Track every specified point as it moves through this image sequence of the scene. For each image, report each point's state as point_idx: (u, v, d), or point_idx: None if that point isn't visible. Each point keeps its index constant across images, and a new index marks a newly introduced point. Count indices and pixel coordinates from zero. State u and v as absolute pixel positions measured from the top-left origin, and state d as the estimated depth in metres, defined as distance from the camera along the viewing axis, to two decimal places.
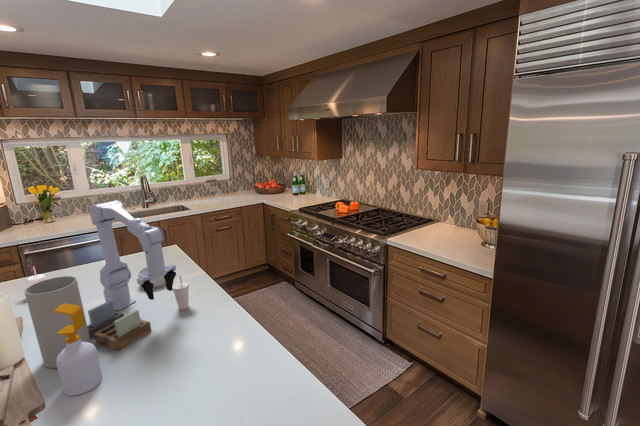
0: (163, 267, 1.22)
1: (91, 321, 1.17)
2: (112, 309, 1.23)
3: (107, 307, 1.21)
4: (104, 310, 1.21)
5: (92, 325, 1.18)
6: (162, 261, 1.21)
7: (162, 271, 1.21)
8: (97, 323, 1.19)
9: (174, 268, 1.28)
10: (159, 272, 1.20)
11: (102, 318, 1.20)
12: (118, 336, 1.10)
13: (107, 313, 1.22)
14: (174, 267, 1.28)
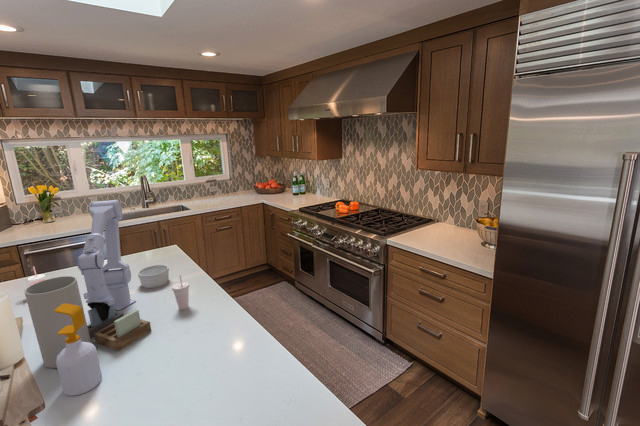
0: (92, 295, 1.16)
1: (91, 321, 1.17)
2: (112, 309, 1.23)
3: None
4: None
5: (92, 325, 1.18)
6: (90, 289, 1.15)
7: (90, 298, 1.16)
8: (97, 323, 1.19)
9: (107, 303, 1.16)
10: (88, 297, 1.17)
11: None
12: (118, 336, 1.10)
13: None
14: (107, 302, 1.16)
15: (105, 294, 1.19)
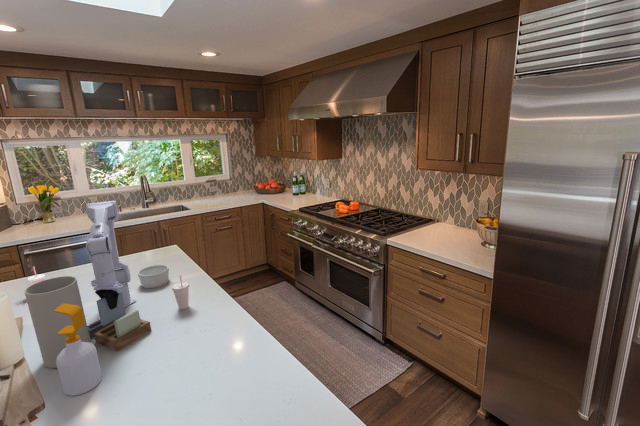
0: (100, 282, 1.10)
1: (99, 312, 1.12)
2: (121, 300, 1.18)
3: None
4: None
5: (100, 316, 1.12)
6: (98, 275, 1.09)
7: (98, 285, 1.10)
8: (106, 314, 1.13)
9: (116, 290, 1.10)
10: (96, 284, 1.11)
11: None
12: (118, 336, 1.10)
13: None
14: (116, 289, 1.10)
15: (114, 281, 1.13)
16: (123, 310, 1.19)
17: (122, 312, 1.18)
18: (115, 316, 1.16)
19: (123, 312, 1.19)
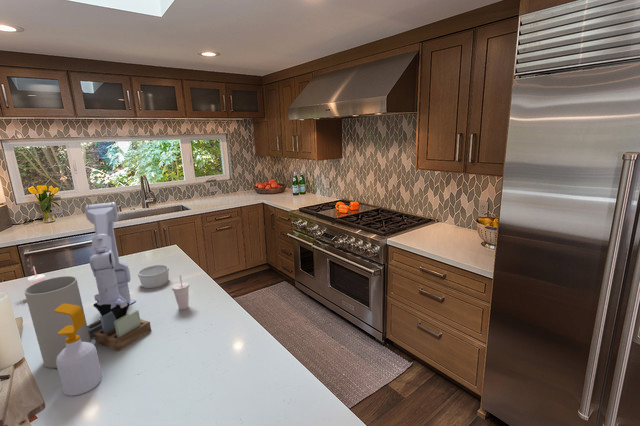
0: (103, 297, 1.11)
1: (103, 328, 1.13)
2: None
3: None
4: None
5: (104, 332, 1.13)
6: (102, 290, 1.11)
7: (102, 300, 1.12)
8: (109, 330, 1.14)
9: (120, 305, 1.11)
10: (100, 299, 1.12)
11: None
12: (118, 336, 1.10)
13: None
14: (120, 304, 1.11)
15: (117, 296, 1.14)
16: None
17: None
18: None
19: None
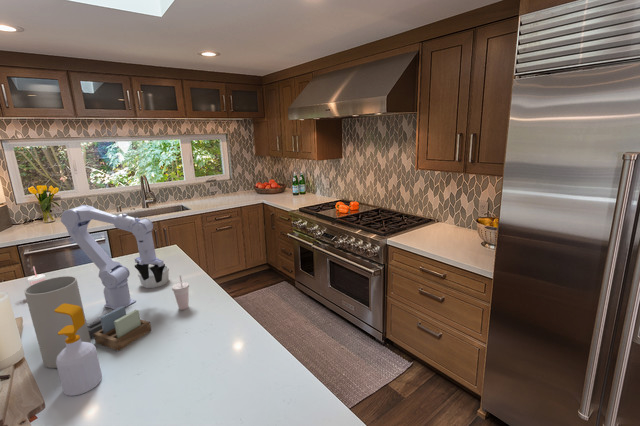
0: (144, 258, 1.31)
1: (103, 328, 1.13)
2: (124, 315, 1.19)
3: (119, 313, 1.17)
4: (116, 316, 1.16)
5: (104, 332, 1.13)
6: (142, 252, 1.30)
7: (142, 260, 1.31)
8: (109, 330, 1.14)
9: (158, 264, 1.31)
10: (141, 260, 1.32)
11: None
12: (118, 336, 1.10)
13: None
14: (158, 263, 1.31)
15: (154, 257, 1.34)
16: None
17: None
18: None
19: None
